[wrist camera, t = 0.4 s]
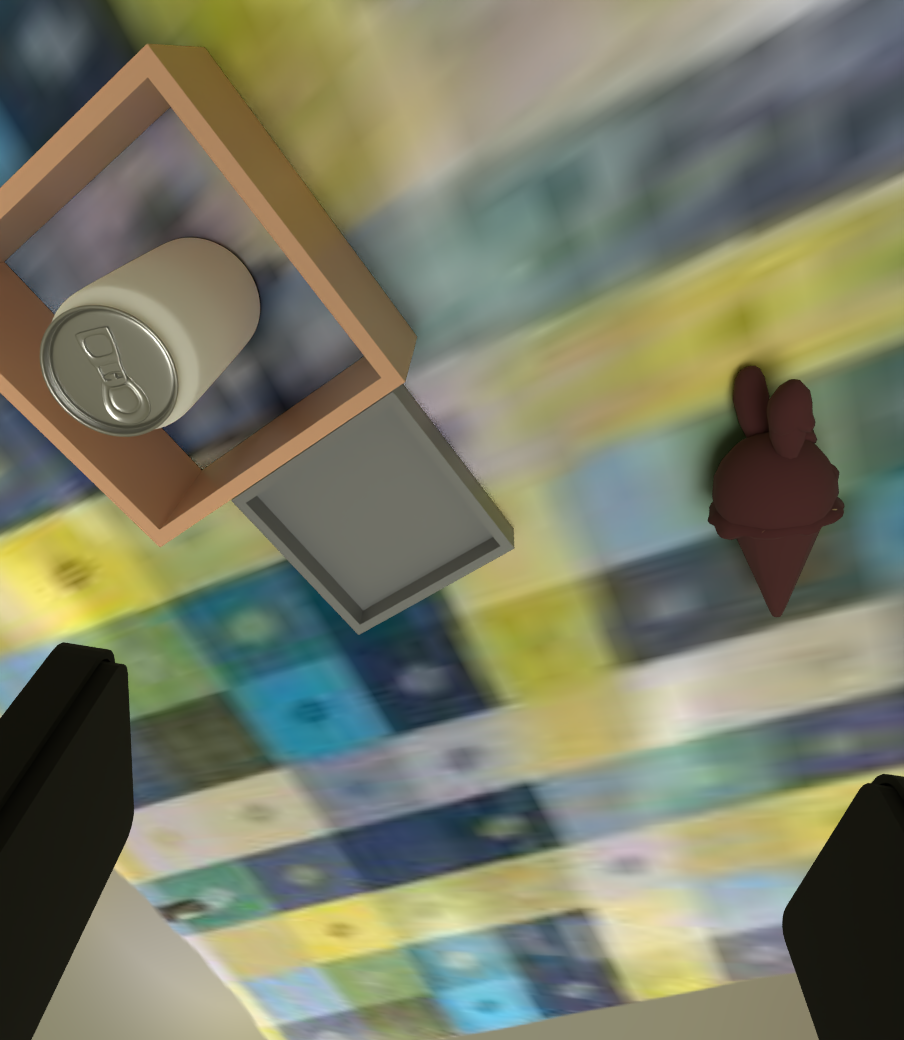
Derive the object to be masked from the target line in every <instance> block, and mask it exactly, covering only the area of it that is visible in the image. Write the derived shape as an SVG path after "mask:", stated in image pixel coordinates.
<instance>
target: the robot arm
mask: <svg viewBox="0 0 904 1040" xmlns="http://www.w3.org/2000/svg"><path fill="white" fill-rule="evenodd" d="M133 816H134V800H133V778H132V756H131V734H130V712H129V690H128V672H127V667H126V665H124V664H118V663H115V659H114V654H113V653H112V651H111V650H108V649H101V648H95V647H89V646H83V645H76V644H70V643H64V642H63V643H61V644H59V645H57V646H56V647H55V648H54V649H53V651H52V652H51V653H50V654H49V656H48V657H47V658H46V660H45V661H44V662H43V664H42V665H41V666H40V667H39V669H38V670H37V671H36V673H35V674H34V675H33V676H32V678H31V679H30V680H29V682H28V683H27V684H26V686H25V687H24V688H23V689H22V691H21V692H20V693H19V695H18V696H17V697H16V699H15V700H14V701H13V702H12V704H11V705H10V706H9V708H8V709H7V710H6V712H5V713H4V714H3V715H2V717H1V718H0V1040H31V1039H32V1037H33V1035H34V1033H35V1031H36V1029H37V1027H38V1025H39V1022H40V1020H41V1018H42V1016H43V1014H44V1012H45V1010H46V1007H47V1006H48V1003H49V1002H50V1000H51V997H52V995H53V993H54V991H55V989H56V987H57V985H58V983H59V981H60V979H61V977H62V974H63V972H64V970H65V968H66V966H67V964H68V962H69V960H70V958H71V956H72V953H73V951H74V949H75V947H76V945H77V943H78V941H79V939H80V937H81V935H82V932H83V931H84V929H85V926H86V924H87V922H88V920H89V918H90V916H91V914H92V911H93V910H94V908H95V906H96V903H97V901H98V899H99V897H100V895H101V893H102V891H103V889H104V887H105V885H106V882H107V880H108V878H109V876H110V874H111V872H112V870H113V868H114V866H115V864H116V862H117V860H118V858H119V855H120V853H121V851H122V849H123V847H124V845H125V843H126V841H127V838H128V836H129V833H130V830H131V826H132V822H133ZM782 927H783V935H784V939H785V942H786V945H787V948H788V951H789V954H790V957H791V960H792V963H793V965H794V968H795V971H796V974H797V977H798V980H799V983H800V985H801V989H802V992H803V994H804V997H805V1000H806V1003H807V1006H808V1009H809V1012H810V1014H811V1018H812V1020H813V1023H814V1026H815V1029H816V1032H817V1035H818V1038H819V1040H904V777H901V776H895V775H889V774H882V775H880V776H877V777H876V778H875V779H874V781H873V782H872V783H867V784H865V785H863V786H862V787H861V788H860V790H859V791H858V793H857V794H856V796H855V798H854V799H853V801H852V802H851V804H850V806H849V807H848V809H847V810H846V812H845V814H844V815H843V817H842V818H841V820H840V822H839V823H838V825H837V826H836V828H835V830H834V831H833V833H832V834H831V836H830V838H829V839H828V841H827V842H826V844H825V846H824V847H823V849H822V850H821V852H820V854H819V855H818V857H817V858H816V860H815V862H814V863H813V865H812V866H811V868H810V870H809V871H808V873H807V874H806V876H805V878H804V879H803V881H802V882H801V884H800V885H799V887H798V889H797V890H796V892H795V893H794V895H793V897H792V898H791V900H790V901H789V903H788V905H787V906H786V908H785V911H784V914H783V922H782Z"/></svg>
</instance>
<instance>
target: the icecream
mask: <svg viewBox="0 0 904 1040" xmlns="http://www.w3.org/2000/svg"><path fill="white" fill-rule="evenodd" d="M733 402H734V406H735V410H736V414H737V417H738V421H739V424H740V426H741V428H742V430H743V432H744V434H745V436H746V438H745V439H743V440H741V441H740V442H739V443H737V444H736V445H735V446H734V447H733V448H732V449H731V450H730V452H729V453H728V454H727V455H726V456H725V457H724V458H723V459H722V460H721V463H720V465H719V467H718V469H717V471H716V473H715V475H714V481H713V492H712V497H713V502H712V503H711V505H710V507H709V517H708V522H709V523H710V524H712V525H714V526H715V528H716V531H717V534H718V535H719V536H720V537H721V538H724V539H730V540H732V539H736V538H737V540H738V542H739V545H740V547H741V549H742V551H743V553H744V555H745V558H746V560H747V562H748V564H749V566H750V568H751V571H752V573H753V575H754V577H755V579H756V581H757V584H758V586H759V588H760V590H761V592H762V595H763V597H764V599H765V602H766V604H767V606H768V608H769V610H770V612H771V614H772V616H774V617H780V616H781V615H782V613H783V611H784V609H785V608H786V605H787V603H788V601H789V599H790V596H791V594H792V592H793V589H794V587H795V585H796V583H797V580H798V578H799V576H800V574H801V571H802V569H803V567H804V565H805V563H806V560H807V558H808V556H809V554H810V551H811V549H812V547H813V545H814V542H815V540H816V538H817V536H818V533H819V531H820V529H821V527H822V526H826V525H829V524H832V523H834V522H836V521H837V520H839V519H840V518H841V517H842V516H843V513H844V510H843V508H844V503H843V502H842V500H841V499H840V498H838V497H837V496H838V494H839V489H838V478H839V471H838V470H837V468H836V467H835V466H834V465H832V464H831V463H830V461H829V460H828V458H827V457H826V456H825V454H824V453H823V452H822V451H821V450H820V449H819V448H818V447H817V446H816V445H815V444H814V443H816V441H817V438H816V435H815V433H814V430H813V428H814V426H815V419H814V416H813V413H812V398H811V393H810V390H809V389H808V388H807V387H806V386H805V385H804V384H803V383H802V382H801V381H800V380H797V379H791V380H788V381H787V382H785V383H783V384H782V385H780V386H779V387H778V388H777V390H776V391H775V392H774V394H773V395H772V396H771V398H770V399H769V393H768V389H767V385H766V381H765V377H764V375H763V373H762V371H761V370H760V368H758V367H756V366H748V367H745V368H744V369H742V370H740V372H739V373H738V375H737V377H736V379H735V383H734V393H733Z"/></svg>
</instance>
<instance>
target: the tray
mask: <svg viewBox="0 0 904 1040" xmlns="http://www.w3.org/2000/svg"><path fill="white" fill-rule="evenodd" d="M231 501H232V502H233V503H234V504H235V505H236V506H237V507H238V508H239V509H240V510H241V511H242V512H243V513H244V514H245V516H246V517H247V518H248V519H249V520H250V521H251V522H252V523H253V524H254V525H255V526H256V527H257V528H258V529H259V530H260V531H261V532H262V533H263V535H264V536H265V537H266V538H267V539H268V540H269V541H270V542H271V543H272V544H273V545H274V546H275V547H276V548H277V549H278V550H279V551H280V552H281V554H282V555H283V556H284V557H285V558H286V559H287V560H288V561H289V562H290V563H291V564H292V565H293V566H294V567H295V568H296V569H297V570H298V571H299V573H300V574H301V575H302V576H303V577H304V578H305V579H306V580H307V581H308V582H309V583H310V584H311V585H312V586H313V587H314V588H315V589H316V590H317V592H318V593H319V594H320V595H321V596H322V597H323V598H324V599H325V600H326V601H327V602H328V603H329V604H330V605H331V606H332V607H333V608H334V609H335V611H336V612H337V613H338V614H339V615H340V616H341V617H342V618H343V619H344V620H345V621H346V622H347V623H348V624H349V625H350V626H351V627H352V628H353V630H354V631H355V632H356V633H357V634H358V635H359V634H361V633H363V632H365V631H367V630H368V629H370V628H372V627H374V626H376V625H377V624H379V623H381V622H383V621H385V620H386V619H388V618H390V617H392V616H394V615H395V614H397V613H399V612H401V611H403V610H404V609H406V608H408V607H410V606H412V605H413V604H415V603H417V602H419V601H421V600H422V599H424V598H426V597H428V596H430V595H431V594H433V593H435V592H437V591H439V590H440V589H442V588H444V587H446V586H448V585H449V584H451V583H453V582H455V581H457V580H458V579H460V578H462V577H464V576H466V575H467V574H469V573H471V572H473V571H475V570H476V569H478V568H480V567H482V566H484V565H485V564H487V563H489V562H491V561H493V560H494V559H496V558H498V557H500V556H502V555H503V554H505V553H507V552H509V551H511V550H512V549H514V530H513V527H512V526H511V525H510V523H509V522H508V521H507V520H506V518H505V517H504V516H503V514H502V513H501V512H500V510H499V509H498V508H497V507H496V505H495V504H494V503H493V501H492V500H491V499H490V497H489V496H488V495H487V493H486V492H485V491H484V490H483V488H482V487H481V486H480V484H479V483H478V482H477V480H476V479H475V478H474V476H473V475H472V474H471V473H470V471H469V470H468V469H467V467H466V466H465V465H464V463H463V462H462V461H461V459H460V458H459V457H458V456H457V454H456V453H455V452H454V450H453V449H452V448H451V446H450V445H449V444H448V443H447V441H446V440H445V439H444V437H443V436H442V435H441V433H440V432H439V431H438V429H437V428H436V427H435V426H434V424H433V423H432V422H431V420H430V419H429V418H428V416H427V415H426V414H425V412H424V411H423V410H422V409H421V407H420V406H419V405H418V403H417V402H416V401H415V399H414V398H413V397H412V395H411V394H410V393H409V392H408V390H407V389H406V388H405V386H404V385H403V384H402V385H400V386H399V387H397V388H396V389H394V390H393V391H391V392H390V393H388V394H387V395H385V396H384V397H382V398H381V399H379V400H378V401H376V402H375V403H373V404H372V405H370V406H369V407H367V408H366V409H364V410H363V411H362V412H360V413H359V414H357V415H356V416H354V417H353V418H351V419H350V420H348V421H347V422H345V423H344V424H342V425H341V426H339V427H338V428H336V429H335V430H333V431H332V432H330V433H329V434H327V435H326V436H324V437H323V438H321V439H320V440H318V441H317V442H316V443H314V444H313V445H311V446H310V447H308V448H307V449H305V450H304V451H302V452H301V453H299V454H298V455H296V456H295V457H293V458H292V459H290V460H289V461H287V462H286V463H284V464H283V465H281V466H280V467H278V468H277V469H275V470H274V471H273V472H271V473H270V474H268V475H267V476H265V477H264V478H262V479H261V480H259V481H258V482H256V483H255V484H253V485H252V486H250V487H249V488H247V489H246V490H244V491H243V492H241V493H240V494H238V495H237V496H235V497H234V498H233V499H232V500H231Z"/></svg>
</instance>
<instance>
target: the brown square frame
mask: <svg viewBox="0 0 904 1040" xmlns="http://www.w3.org/2000/svg"><path fill="white" fill-rule="evenodd" d="M170 107H171V108H172V109H173V110H174V111H175V113H176V114H177V115H178V117H179V118H180V119H181V120H182V122H183V123H184V124H185V126H186V127H187V128H188V129H189V131H190V132H191V133H192V135H193V136H194V137H195V138H196V140H197V141H198V142H199V144H200V145H201V146H202V147H203V149H204V150H205V151H206V153H207V154H208V155H209V156H210V158H211V159H212V160H213V162H214V163H215V164H216V166H217V167H218V168H219V169H220V171H221V172H222V173H223V175H224V176H225V177H226V178H227V180H228V181H229V182H230V184H231V185H232V186H233V187H234V189H235V190H236V191H237V193H238V194H239V195H240V196H241V198H242V199H243V200H244V202H245V203H246V204H247V205H248V207H249V208H250V209H251V211H252V212H253V213H254V214H255V216H256V217H257V218H258V220H259V221H260V222H261V223H262V225H263V226H264V227H265V229H266V230H267V231H268V232H269V234H270V235H271V236H272V238H273V239H274V240H275V241H276V243H277V244H278V245H279V247H280V248H281V249H282V251H283V252H284V253H285V254H286V256H287V257H288V258H289V260H290V261H291V262H292V263H293V265H294V266H295V267H296V269H297V270H298V271H299V272H300V274H301V275H302V276H303V278H304V279H305V280H306V281H307V283H308V284H309V285H310V287H311V288H312V289H313V290H314V292H315V293H316V294H317V296H318V297H319V298H320V299H321V301H322V302H323V303H324V305H325V306H326V307H327V308H328V310H329V311H330V312H331V314H332V315H333V316H334V317H335V319H336V320H337V321H338V323H339V324H340V325H341V327H342V328H343V329H344V330H345V332H346V333H347V334H348V336H349V337H350V338H351V339H352V341H353V342H354V343H355V345H356V346H357V347H358V348H359V350H360V351H361V352H362V354H363V355H364V357H362V358H361V359H360V360H358V361H357V362H355V363H354V364H352V365H351V366H350V367H348V368H347V369H345V370H344V371H343V372H341V373H340V374H338V375H337V376H335V377H334V378H333V379H331V380H330V381H328V382H327V383H325V384H324V385H323V386H321V387H320V388H318V389H317V390H316V391H314V392H313V393H311V394H310V395H308V396H307V397H306V398H304V399H303V400H301V401H300V402H298V403H297V404H296V405H294V406H293V407H291V408H290V409H288V410H287V411H286V412H284V413H283V414H281V415H280V416H279V417H277V418H276V419H274V420H273V421H271V422H270V423H269V424H267V425H266V426H264V427H263V428H261V429H260V430H259V431H257V432H256V433H254V434H253V435H251V436H250V437H249V438H247V439H246V440H244V441H243V442H242V443H240V444H239V445H237V446H236V447H234V448H233V449H232V450H230V451H229V452H227V453H226V454H224V455H223V456H222V457H220V458H219V459H217V460H216V461H214V462H213V463H212V464H210V465H209V466H207V467H206V468H205V469H203V470H201V469H200V468H199V467H198V466H197V465H196V464H195V463H194V462H193V461H192V460H191V458H190V457H189V456H188V455H187V454H186V453H185V452H184V451H183V450H182V449H181V448H180V447H179V446H178V445H177V444H176V443H175V442H174V441H173V440H172V438H171V437H170V436H169V435H168V434H167V433H166V432H165V431H164V430H163V429H162V428H159V429H154V430H153V431H151V432H148V433H146V434H143V435H139V436H132V437H118V436H111V435H107V434H103V433H100V432H97V431H95V430H92V429H90V428H88V427H86V426H85V425H83V424H81V423H80V422H78V421H77V420H75V419H74V418H73V417H71V416H70V415H69V414H68V413H67V412H66V411H65V410H64V409H63V408H62V407H61V406H60V405H59V404H58V402H57V401H56V400H55V398H54V397H53V396H52V394H51V392H50V391H49V389H48V387H47V385H46V383H45V380H44V377H43V374H42V371H41V366H40V346H41V341H42V338H43V335H44V333H45V331H46V329H47V328H48V326H49V325H50V324H51V322H52V320H53V317H54V314H53V313H52V312H51V311H50V310H49V309H48V308H47V307H46V306H45V304H44V303H43V302H42V301H41V300H40V299H39V298H38V297H37V296H36V295H35V294H34V293H33V292H32V291H31V290H30V289H29V288H28V287H27V285H26V284H25V283H24V282H23V281H22V280H21V279H20V278H19V277H18V276H17V275H16V274H15V273H14V272H13V271H12V270H11V269H10V268H9V266H8V265H7V264H6V263H5V261H6V260H7V259H8V258H9V257H10V256H11V255H12V254H13V253H14V252H15V251H16V250H17V249H19V248H20V247H21V246H22V245H23V244H24V243H25V242H26V241H27V240H28V239H29V238H30V237H31V236H32V235H34V234H35V233H36V232H37V231H38V230H39V229H40V228H41V227H42V226H43V225H44V224H45V223H46V222H47V221H49V220H50V219H51V218H52V217H53V216H54V215H55V214H56V213H57V212H58V211H59V210H60V209H61V208H62V207H64V206H65V205H66V204H67V203H68V202H69V201H70V200H71V199H72V198H73V197H74V196H75V195H76V194H77V193H79V192H80V191H81V190H82V189H83V188H84V187H85V186H86V185H87V184H88V183H89V182H90V181H91V180H92V179H94V178H95V177H96V176H97V175H98V174H99V173H100V172H101V171H102V170H103V169H104V168H105V167H106V166H108V165H109V164H110V163H111V162H112V161H113V160H114V159H115V158H116V157H117V156H118V155H119V154H120V153H121V152H123V151H124V150H125V149H126V148H127V147H128V146H129V145H130V144H131V143H132V142H133V141H134V140H135V139H136V138H138V137H139V136H140V135H141V134H142V133H143V132H144V131H145V130H146V129H147V128H148V127H149V126H150V125H151V124H153V123H154V122H155V121H156V120H157V119H158V118H159V117H160V116H161V115H162V114H163V113H164V112H165V111H166V110H168V109H169V108H170ZM416 340H417V336H416V334H415V333H414V332H413V330H412V329H411V328H410V326H409V325H408V324H407V322H406V321H405V319H404V318H403V317H402V315H401V314H400V313H399V311H398V310H397V309H396V307H395V306H394V305H393V303H392V302H391V300H390V299H389V298H388V296H387V295H386V294H385V292H384V291H383V290H382V288H381V287H380V285H379V284H378V283H377V281H376V280H375V279H374V277H373V276H372V275H371V273H370V272H369V270H368V269H367V268H366V266H365V265H364V264H363V262H362V261H361V260H360V258H359V257H358V255H357V254H356V253H355V251H354V250H353V249H352V247H351V246H350V245H349V243H348V242H347V240H346V239H345V238H344V236H343V235H342V234H341V232H340V231H339V230H338V228H337V227H336V225H335V224H334V223H333V221H332V220H331V219H330V217H329V216H328V215H327V213H326V212H325V211H324V209H323V208H322V206H321V205H320V204H319V202H318V201H317V200H316V198H315V197H314V196H313V194H312V193H311V191H310V190H309V189H308V187H307V186H306V185H305V183H304V182H303V181H302V179H301V178H300V176H299V175H298V174H297V172H296V171H295V170H294V168H293V167H292V166H291V164H290V163H289V161H288V160H287V159H286V157H285V156H284V155H283V153H282V152H281V151H280V149H279V148H278V146H277V145H276V144H275V142H274V141H273V140H272V138H271V137H270V136H269V134H268V133H267V131H266V130H265V129H264V127H263V126H262V125H261V123H260V122H259V121H258V119H257V118H256V117H255V115H254V114H253V112H252V111H251V110H250V108H249V107H248V106H247V104H246V103H245V102H244V100H243V99H242V97H241V96H240V95H239V93H238V92H237V91H236V89H235V88H234V87H233V85H232V84H231V82H230V81H229V80H228V78H227V77H226V76H225V74H224V73H223V72H222V70H221V69H220V67H219V66H218V65H217V63H216V62H215V61H214V59H213V58H212V57H211V55H210V54H209V52H208V51H207V50H206V48H205V47H192V46H175V45H159V44H146V45H145V46H144V47H143V48H142V49H141V50H140V51H139V52H138V53H137V54H136V55H135V56H134V57H133V58H132V59H131V60H130V61H129V62H128V63H127V64H126V65H125V66H124V67H123V68H122V69H121V70H120V71H119V72H118V73H117V74H116V75H115V76H114V77H113V78H112V79H111V80H110V81H109V82H108V83H107V84H106V85H105V86H104V87H103V88H102V89H101V90H100V91H99V92H98V93H96V94H95V95H94V96H93V97H92V98H91V99H90V100H89V101H88V102H87V103H86V104H85V105H84V106H83V107H82V108H81V109H80V110H79V111H78V112H77V113H76V114H75V115H74V116H73V117H72V118H71V119H70V120H69V121H68V122H67V123H66V124H65V125H64V126H63V127H62V128H61V129H60V130H59V131H58V132H57V133H56V134H55V135H54V136H53V137H52V138H51V139H50V140H49V141H48V142H47V143H46V144H45V145H44V146H43V147H42V148H41V149H40V150H39V151H38V152H37V153H36V154H35V155H34V156H32V157H31V158H30V159H29V160H28V161H27V162H26V163H25V164H24V165H23V166H22V167H21V168H20V169H19V170H18V171H17V172H16V173H15V174H14V175H13V176H12V177H11V178H10V179H9V180H8V181H7V182H6V183H5V184H4V185H3V186H2V187H1V188H0V393H1V394H2V395H3V396H4V397H5V398H6V399H8V400H9V401H10V402H11V403H12V404H13V405H14V406H15V407H16V408H17V409H18V410H19V411H20V412H21V413H22V414H23V415H24V416H25V417H26V418H27V419H28V420H29V421H30V422H31V423H32V424H33V425H34V426H35V427H36V428H37V429H38V430H39V431H40V432H42V433H43V434H44V435H45V436H46V437H47V438H48V439H49V440H50V441H51V442H52V443H53V444H54V445H55V446H56V447H57V448H58V449H59V450H60V451H61V452H62V453H63V454H64V455H65V456H66V457H67V458H68V459H69V460H70V461H71V462H72V463H73V464H75V465H76V466H77V467H78V468H79V469H80V470H81V471H82V472H83V473H84V474H85V475H86V476H87V477H88V478H89V479H90V480H91V481H92V482H93V483H94V484H95V485H96V486H97V487H98V488H99V489H100V490H101V491H102V492H103V493H104V494H105V495H106V496H107V497H109V498H110V499H111V500H112V501H113V502H114V503H115V504H116V505H117V506H118V507H119V508H120V509H121V510H122V511H123V512H124V513H125V514H126V515H127V516H128V517H129V518H130V519H131V520H132V521H133V522H134V523H135V524H136V525H137V526H138V527H139V528H140V529H141V530H143V531H144V532H145V533H146V534H147V535H148V536H149V537H150V538H151V539H152V540H153V541H154V542H155V543H156V544H157V545H158V546H159V547H161V546H163V545H164V544H166V543H167V542H169V541H170V540H172V539H173V538H175V537H176V536H178V535H179V534H181V533H182V532H184V531H185V530H187V529H188V528H189V527H191V526H192V525H194V524H195V523H197V522H198V521H200V520H201V519H203V518H204V517H206V516H207V515H209V514H210V513H212V512H213V511H215V510H216V509H218V508H219V507H221V506H222V505H224V504H225V503H227V502H228V501H230V500H231V499H232V498H234V497H235V496H237V495H238V494H240V493H241V492H243V491H244V490H246V489H247V488H249V487H250V486H252V485H253V484H255V483H256V482H258V481H259V480H261V479H262V478H264V477H265V476H267V475H268V474H270V473H271V472H273V471H274V470H275V469H277V468H278V467H280V466H281V465H283V464H284V463H286V462H287V461H289V460H290V459H292V458H293V457H295V456H296V455H298V454H299V453H301V452H302V451H304V450H305V449H307V448H308V447H310V446H311V445H313V444H314V443H316V442H317V441H318V440H320V439H321V438H323V437H324V436H326V435H327V434H329V433H330V432H332V431H333V430H335V429H336V428H338V427H339V426H341V425H342V424H344V423H345V422H347V421H348V420H350V419H351V418H353V417H354V416H356V415H357V414H359V413H360V412H362V411H363V410H364V409H366V408H367V407H369V406H370V405H372V404H373V403H375V402H376V401H378V400H379V399H381V398H382V397H384V396H385V395H387V394H388V393H390V392H391V391H393V390H394V389H396V388H397V387H399V386H400V385H402V384H403V383H405V381H406V377H407V373H408V370H409V366H410V362H411V359H412V355H413V351H414V347H415V344H416Z"/></svg>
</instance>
